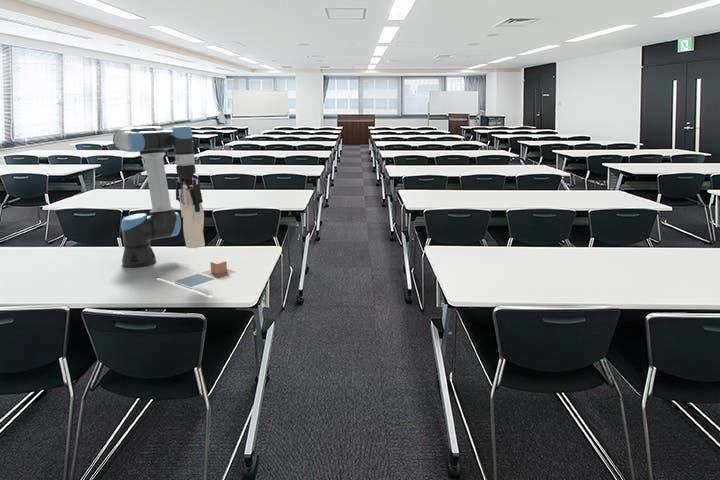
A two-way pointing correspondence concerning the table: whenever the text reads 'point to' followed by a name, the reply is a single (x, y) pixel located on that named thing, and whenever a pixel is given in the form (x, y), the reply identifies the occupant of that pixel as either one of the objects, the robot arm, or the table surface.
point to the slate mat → (193, 280)
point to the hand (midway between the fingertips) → (190, 218)
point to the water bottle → (191, 219)
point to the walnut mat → (219, 274)
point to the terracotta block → (218, 266)
